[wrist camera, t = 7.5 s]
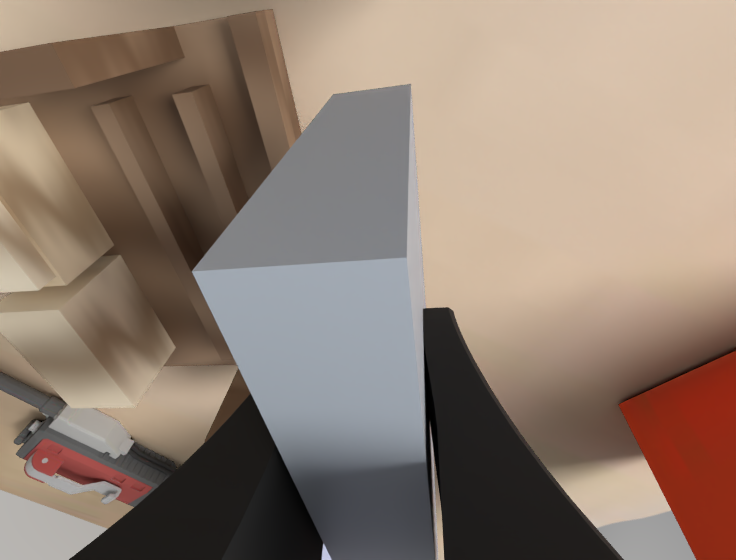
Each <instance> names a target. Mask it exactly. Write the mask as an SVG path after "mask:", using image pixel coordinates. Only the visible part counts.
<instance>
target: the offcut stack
mask: <svg viewBox="0 0 736 560" xmlns="http://www.w3.org/2000/svg"><path fill="white" fill-rule="evenodd" d="M113 246H114V244H113V242H112V240H111V239H110V237H109V235H108V234H107V232H106V230H105V229H104V227H103V225H102V224H101V222H100V220H99V219H98V217H97V215H96V214H95V212H94V210H93V209H92V207H91V205H90V204H89V202H88V200H87V199H86V197H85V195H84V194H83V192H82V190H81V189H80V187H79V185H78V184H77V182H76V180H75V179H74V177H73V175H72V174H71V172H70V170H69V169H68V167H67V165H66V164H65V162H64V160H63V159H62V157H61V155H60V154H59V152H58V150H57V149H56V147H55V145H54V144H53V142H52V140H51V139H50V137H49V135H48V134H47V132H46V130H45V129H44V127H43V125H42V124H41V122H40V120H39V119H38V117H37V115H36V113H35V112H34V110H33V108H32V107H31V105H30V103H29V102H28V103H22V104H15V105H9V106H2V107H0V293H5V292H12V293H10V294H9V295H8V296H6V297H5V298H4V299H2V300H1V301H0V333H1V334H2V335H3V336H4V337H5V338H6V339H7V340H8V341H9V342H10V343H11V344H12V345H13V346H14V347H15V349H16V350H17V351H18V352H19V353H20V354H21V355H22V356H23V357H24V358H25V359H26V360H27V361H28V362H29V363H30V365H31V366H32V367H33V368H34V369H35V370H36V371H37V372H38V373H39V374H40V375H41V376H42V377H43V378H44V379H45V381H46V382H47V383H48V384H49V385H50V386H51V387H52V388H53V389H54V390H55V391H56V392H57V393H58V394H59V395H60V397H61V398H62V399H63V400H64V401H65V402H66V403H67V404H68V405H69V406H70V407H71V408H136V406H137V405H138V403H139V402H140V400H141V399H142V397H143V396H144V394H145V393H146V391H147V390H148V388H149V387H150V385H151V384H152V382H153V381H154V379H155V378H156V376H157V375H158V373H159V372H160V370H161V369H162V367H163V366H164V364H165V363H166V361H167V360H168V358H169V357H170V355H171V354H172V352H173V351H174V349H175V348H176V347H175V345H174V344H173V342H172V340H171V339H170V337H169V335H168V334H167V332H166V330H165V329H164V327H163V325H162V324H161V322H160V320H159V319H158V317H157V315H156V314H155V312H154V310H153V309H152V307H151V305H150V304H149V302H148V300H147V299H146V297H145V295H144V294H143V292H142V290H141V289H140V287H139V285H138V284H137V282H136V280H135V279H134V277H133V275H132V274H131V272H130V270H129V269H128V267H127V265H126V264H125V262H124V260H123V259H122V257H121V255H111V256H102V255H103V254H105V253H106V252H107V251H108V250H109V249H111V248H112V247H113Z"/></svg>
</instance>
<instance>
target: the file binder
mask: <svg viewBox="0 0 736 560" xmlns="http://www.w3.org/2000/svg"><path fill="white" fill-rule="evenodd" d="M618 405H619V407H620V409H621V411H622V413H623V415H624V417H625V419H626V421H627V423H628V425H629V427H630V429H631V431H632V433H633V435H634V437H635V439H636V440H637V442H638V444H639V446H640V448H641V450H642V452H643V454H644V456H645V458H646V460H647V462H648V464H649V466H650V468H651V470H652V472H653V474H654V476H655V478H656V480H657V482H658V484H659V486H660V488H661V490H662V492H663V494H664V496H665V498H666V500H667V502H668V504H669V506H670V508H671V510H672V512H673V514H674V516H675V518H676V520H677V522H678V524H679V526H680V528H681V530H682V532H683V534H684V536H685V538H686V540H687V542H688V544H689V546H690V547H691V550H692V552H693V554H694V556H695V558H696V560H736V351H734V352H732V353H729V354H727V355H725V356H723V357H721V358H719V359H716V360H714V361H712V362H710V363H708V364H705V365H703V366H701V367H699V368H697V369H695V370H692V371H690V372H688V373H686V374H684V375H681V376H679V377H677V378H675V379H673V380H670V381H668V382H666V383H664V384H662V385H660V386H657V387H655V388H653V389H651V390H649V391H646V392H644V393H642V394H640V395H638V396H636V397H633V398H631V399H629V400H627V401H625V402H622V403H620V404H618Z"/></svg>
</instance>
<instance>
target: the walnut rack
mask: <svg viewBox="0 0 736 560" xmlns="http://www.w3.org/2000/svg"><path fill="white" fill-rule="evenodd" d="M28 102H29V103H30V105H31V107H32V108H33V110H34V112H35V113H36V115H37V117H38V119H39V120H40V122H41V124H42V125H43V127H44V129H45V130H46V132H47V134H48V135H49V137H50V139H51V140H52V142H53V144H54V145H55V147H56V149H57V150H58V152H59V154H60V155H61V157H62V159H63V160H64V162H65V164H66V165H67V167H68V169H69V170H70V172H71V174H72V175H73V177H74V179H75V180H76V182H77V184H78V185H79V187H80V189H81V190H82V192H83V194H84V195H85V197H86V199H87V200H88V202H89V204H90V205H91V207H92V209H93V210H94V212H95V214H96V215H97V217H98V219H99V220H100V222H101V224H102V225H103V227H104V229H105V230H106V232H107V234H108V235H109V237H110V239H111V240H112V242H113V244H114V246H113V247H112V248H111V249H109V250H108V251H107V252H106V253H105V254H103V255H102V256H111V255H121V257H122V259H123V260H124V262H125V264H126V265H127V267H128V269H129V270H130V272H131V274H132V275H133V277H134V279H135V280H136V282H137V284H138V285H139V287H140V289H141V290H142V292H143V294H144V295H145V297H146V299H147V300H148V302H149V304H150V305H151V307H152V309H153V310H154V312H155V314H156V315H157V317H158V319H159V320H160V322H161V324H162V325H163V327H164V329H165V330H166V332H167V334H168V335H169V337H170V339H171V340H172V342H173V344H174V345H175V347H176V348H175V349H174V351H173V352H172V354H171V355H170V357H169V358H168V360H167V361H166V363H165V364H164V366H191V365H231V364H236V362H235V360H234V358H233V356H232V353H231V351H230V349H229V347H228V345H227V343H226V341H225V339H224V337H223V335H222V333H221V331H220V329H219V327H218V325H217V323H216V321H215V318H214V316H213V314H212V312H211V310H210V308H209V306H208V304H207V302H206V300H205V298H204V296H203V294H202V292H201V290H200V288H199V286H198V283H197V281H196V279H195V277H194V275H193V273H192V271H193V269H194V268H195V267H196V266H197V264H198V263H199V262H200V261H201V259H202V258H203V257H204V256H205V254H206V253H207V252H208V250H209V249H210V248H211V247H212V245H213V244H214V243H215V242H216V240H217V239H218V238H219V237H220V235H221V234H222V233H223V232H224V230H225V229H226V228H227V227H228V225H229V224H230V223H231V222H232V220H233V219H234V218H235V217H236V215H237V214H238V213H239V212H240V210H241V209H242V208H243V207H244V205H245V204H246V203H247V202H248V200H249V199H250V198H251V197H252V195H253V194H254V193H255V192H256V190H257V189H258V188H259V187H260V185H261V184H262V183H263V182H264V180H265V179H266V178H267V177H268V175H269V174H270V173H271V172H272V170H273V169H274V168H275V167H276V165H277V164H278V163H279V162H280V160H281V159H282V158H283V157H284V155H285V154H286V153H287V152H288V150H289V149H290V148H291V147H292V145H293V144H294V143H295V142H296V140H297V139H298V138H299V137H300V135H301V130H300V126H299V121H298V117H297V113H296V108H295V104H294V100H293V95H292V91H291V87H290V82H289V78H288V74H287V70H286V65H285V61H284V57H283V52H282V48H281V44H280V39H279V35H278V31H277V26H276V22H275V18H274V13H273V9H272V10H263V11H255V12H249V13H243V14H238V15H232V16H227V17H224V18H218V19H212V20H207V21H201V22H195V23H189V24H184V25H178V26H172V27H165V28H157V29H150V30H143V31H135V32H128V33H121V34H113V35H106V36H99V37H91V38H84V39H77V40H69V41H62V42H55V43H48V44H43V45H37V46H31V47H26V48H20V49H14V50H9V51H3V52H0V107H2V106H9V105H15V104H22V103H28ZM249 394H250V391H249V389H248V386H247V384H246V382H245V380H244V378H243V376H242V374H241V372H240V370H239V368H238V370H237V373H236V375H235V377H234V379H233V381H232V383H231V386H230V388H229V390H228V392H227V394H226V396H225V398H224V401H223V403H222V405H221V407H220V409H219V411H218V413H217V416H216V418H215V420H214V422H213V424H212V426H211V428H210V431H209V433H208V435H207V437H206V439H205V442H206V441H207V440H208V439H209V438H210V437H211V436H212V435H213V434H214V433H215V432H216V431H217V430H218V429H219V428H220V427H221V426H222V425H223V424H224V422H225V421H226V420H227V419H228V418H229V417H230V416H231V415H232V414H233V413H234V411H235V410H236V409H237V408H238V407H239V406H240V405H241V403H242V402H243V401H244V400H245V399H246V398H247V397H248V396H249Z"/></svg>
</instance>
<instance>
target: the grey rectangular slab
mask: <svg viewBox="0 0 736 560" xmlns="http://www.w3.org/2000/svg"><path fill="white" fill-rule="evenodd" d="M192 273H193V275H194V277H195V279H196V281H197V283H198V286H199V288H200V290H201V292H202V294H203V296H204V298H205V300H206V302H207V304H208V306H209V308H210V310H211V312H212V314H213V316H214V318H215V321H216V323H217V325H218V327H219V329H220V331H221V333H222V335H223V337H224V339H225V341H226V343H227V345H228V347H229V349H230V351H231V353H232V356H233V358H234V360H235V362H236V364H237V366H238V368H239V370H240V372H241V374H242V376H243V378H244V380H245V382H246V384H247V386H248V389H249V391H250V393H251V395H252V397H253V399H254V401H255V403H256V405H257V407H258V409H259V411H260V413H261V415H262V417H263V419H264V421H265V424H266V426H267V428H268V430H269V432H270V434H271V436H272V438H273V440H274V442H275V444H276V446H277V448H278V450H279V452H280V454H281V456H282V459H283V461H284V463H285V465H286V467H287V469H288V471H289V473H290V475H291V477H292V479H293V481H294V483H295V485H296V487H297V489H298V492H299V494H300V496H301V498H302V500H303V502H304V504H305V506H306V508H307V510H308V512H309V514H310V516H311V518H312V520H313V522H314V524H315V527H316V529H317V531H318V533H319V535H320V537H321V539H322V541H323V543H324V545H325V547H326V549H327V551H328V553H329V555H330V557H331V559H332V560H438V543H437V521H436V498H435V476H434V454H433V442H432V434H431V427H430V419H429V406H428V393H427V380H426V367H425V354H424V341H423V309H424V308H426V303H425V288H424V273H423V258H422V243H421V228H420V213H419V198H418V183H417V168H416V153H415V138H414V123H413V109H412V94H411V84H407V85H400V86H393V87H385V88H378V89H370V90H363V91H355V92H348V93H340V94H333V95H332V97H331V98H330V99H329V100H328V102H327V103H326V104H325V105H324V107H323V108H322V109H321V110H320V112H319V113H318V114H317V115H316V117H315V118H314V119H313V120H312V122H311V123H310V124H309V125H308V127H307V128H306V129H305V130H304V132H303V133H302V134H301V135H300V137H299V138H298V139H297V140H296V142H295V143H294V144H293V145H292V147H291V148H290V149H289V150H288V152H287V153H286V154H285V155H284V157H283V158H282V159H281V160H280V162H279V163H278V164H277V165H276V167H275V168H274V169H273V170H272V172H271V173H270V174H269V175H268V177H267V178H266V179H265V180H264V182H263V183H262V184H261V185H260V187H259V188H258V189H257V190H256V192H255V193H254V194H253V195H252V197H251V198H250V199H249V200H248V202H247V203H246V204H245V205H244V207H243V208H242V209H241V210H240V212H239V213H238V214H237V215H236V217H235V218H234V219H233V220H232V222H231V223H230V224H229V225H228V227H227V228H226V229H225V230H224V232H223V233H222V234H221V235H220V237H219V238H218V239H217V240H216V242H215V243H214V244H213V245H212V247H211V248H210V249H209V250H208V252H207V253H206V254H205V256H204V257H203V258H202V259H201V261H200V262H199V263H198V264H197V266H196V267H195V268H194V269H193V271H192Z"/></svg>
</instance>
